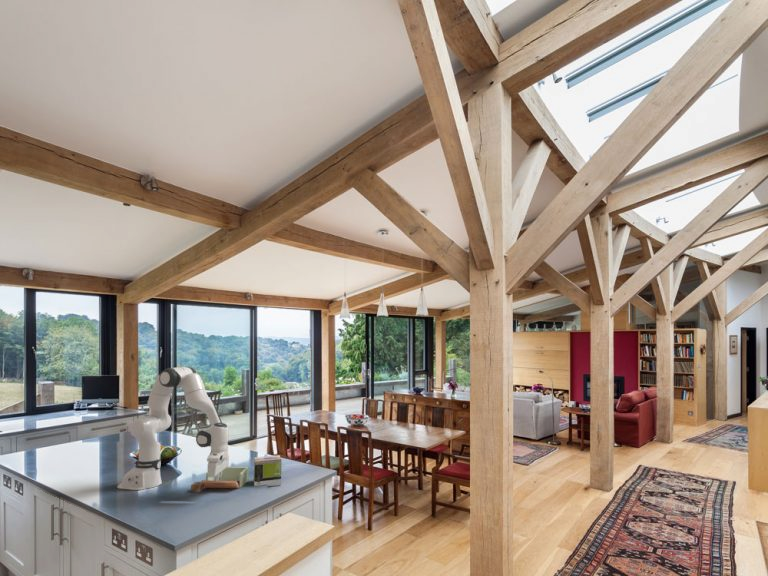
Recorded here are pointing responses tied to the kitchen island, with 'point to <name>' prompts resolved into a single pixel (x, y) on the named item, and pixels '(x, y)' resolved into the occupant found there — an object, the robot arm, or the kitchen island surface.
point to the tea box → (267, 470)
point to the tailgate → (220, 484)
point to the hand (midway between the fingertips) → (218, 480)
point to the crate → (233, 475)
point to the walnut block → (197, 487)
